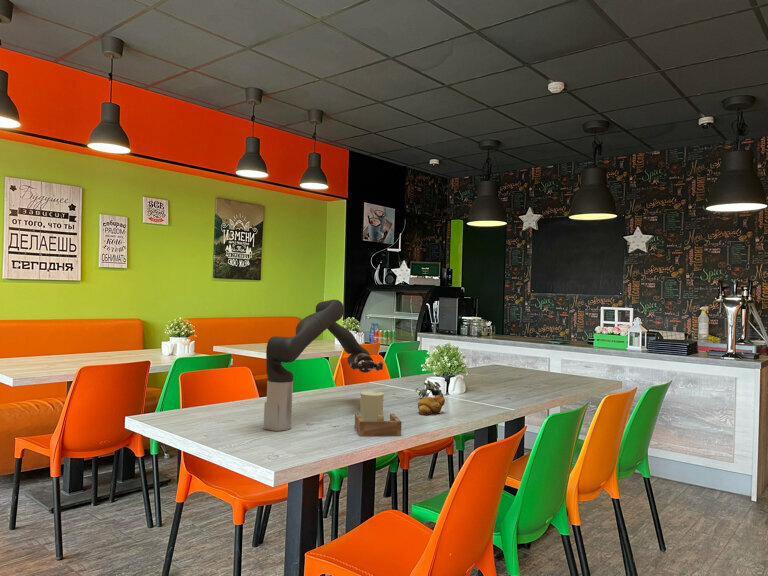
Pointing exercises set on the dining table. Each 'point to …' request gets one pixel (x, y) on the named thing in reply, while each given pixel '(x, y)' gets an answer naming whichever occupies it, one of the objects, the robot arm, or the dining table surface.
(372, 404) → the can
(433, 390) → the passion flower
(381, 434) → the brown open square box
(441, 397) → the bread roll
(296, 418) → the dining table surface
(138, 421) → the dining table surface
